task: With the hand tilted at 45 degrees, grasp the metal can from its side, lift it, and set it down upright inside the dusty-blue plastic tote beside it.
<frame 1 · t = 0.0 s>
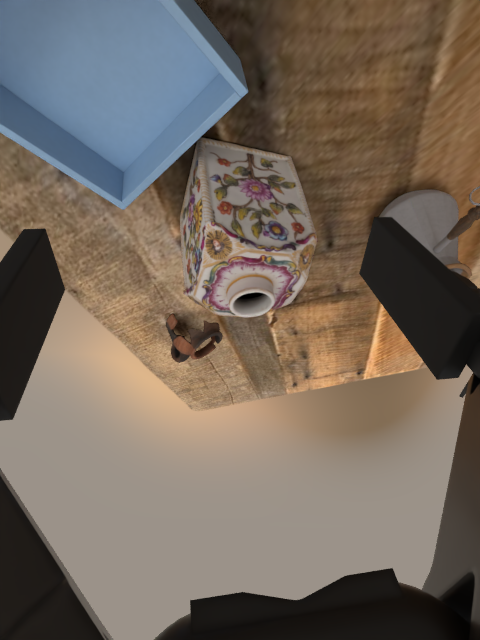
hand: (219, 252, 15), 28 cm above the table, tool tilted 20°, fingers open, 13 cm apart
pottery mug: (189, 323, 72), on the table
tote: (100, 54, 33), on the table
coffee pot: (410, 184, 50), on the table
decorative jar: (232, 186, 46), on the table
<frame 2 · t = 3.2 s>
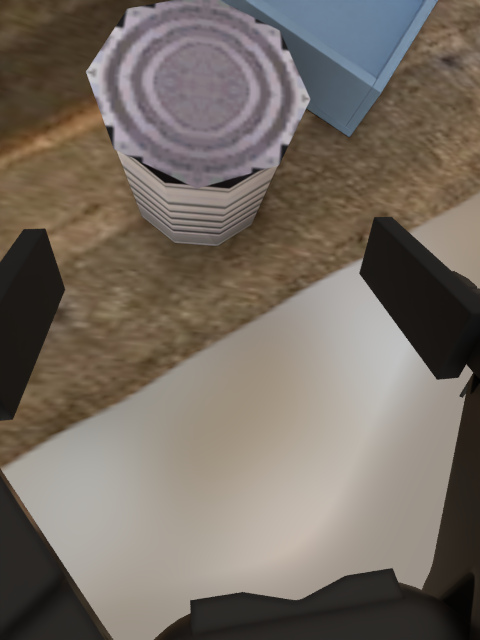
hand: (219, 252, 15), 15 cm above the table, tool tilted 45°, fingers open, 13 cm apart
tote: (315, 9, 34), on the table
can: (199, 183, 31), on the table
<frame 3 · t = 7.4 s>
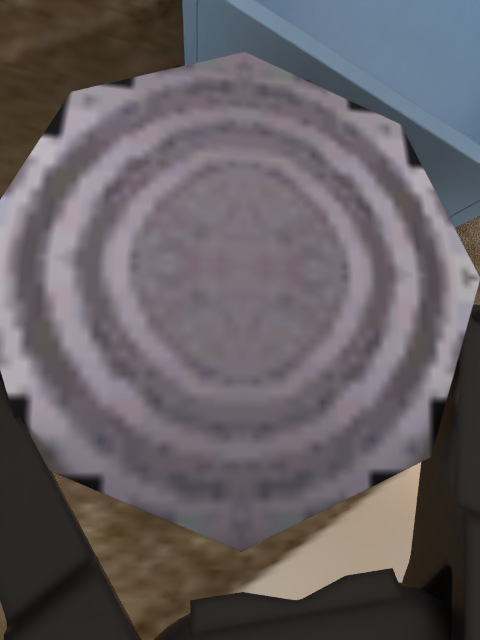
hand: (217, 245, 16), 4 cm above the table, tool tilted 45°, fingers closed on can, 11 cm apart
tote: (381, 46, 23), on the table
can: (216, 320, 20), on the table, touching gripper
when the fingers open (5 cm above the table, at t = 16.4 s): can stays where it is, resting on tote.
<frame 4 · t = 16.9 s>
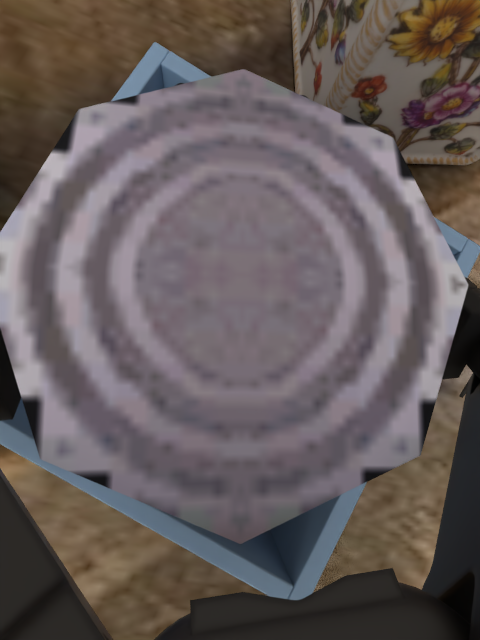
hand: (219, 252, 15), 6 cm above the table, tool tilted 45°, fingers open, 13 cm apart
tote: (216, 323, 21), on the table
can: (217, 323, 21), point 1 cm above the table, touching tote
decorative jar: (377, 85, 24), on the table
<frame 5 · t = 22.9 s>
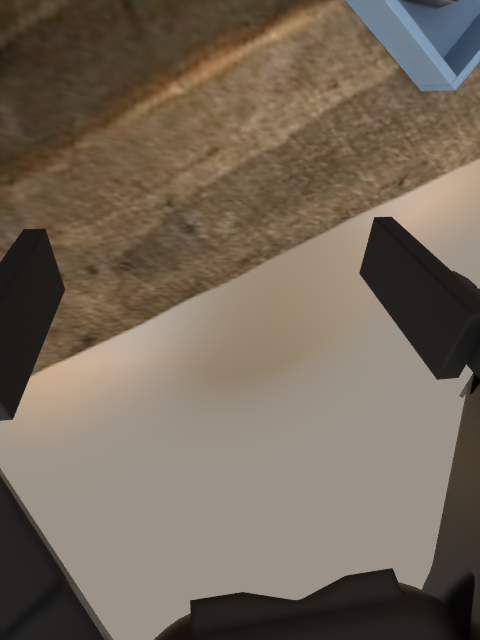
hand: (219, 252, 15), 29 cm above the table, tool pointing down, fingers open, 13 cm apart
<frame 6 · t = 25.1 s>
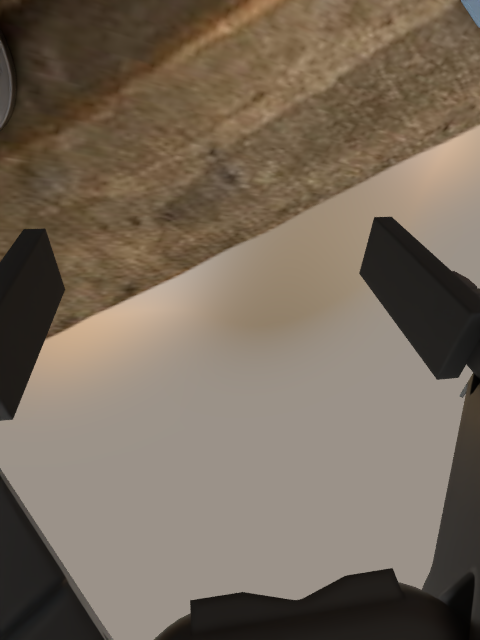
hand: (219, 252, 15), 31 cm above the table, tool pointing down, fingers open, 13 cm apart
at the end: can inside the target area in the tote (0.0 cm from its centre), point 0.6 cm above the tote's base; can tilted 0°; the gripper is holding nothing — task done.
